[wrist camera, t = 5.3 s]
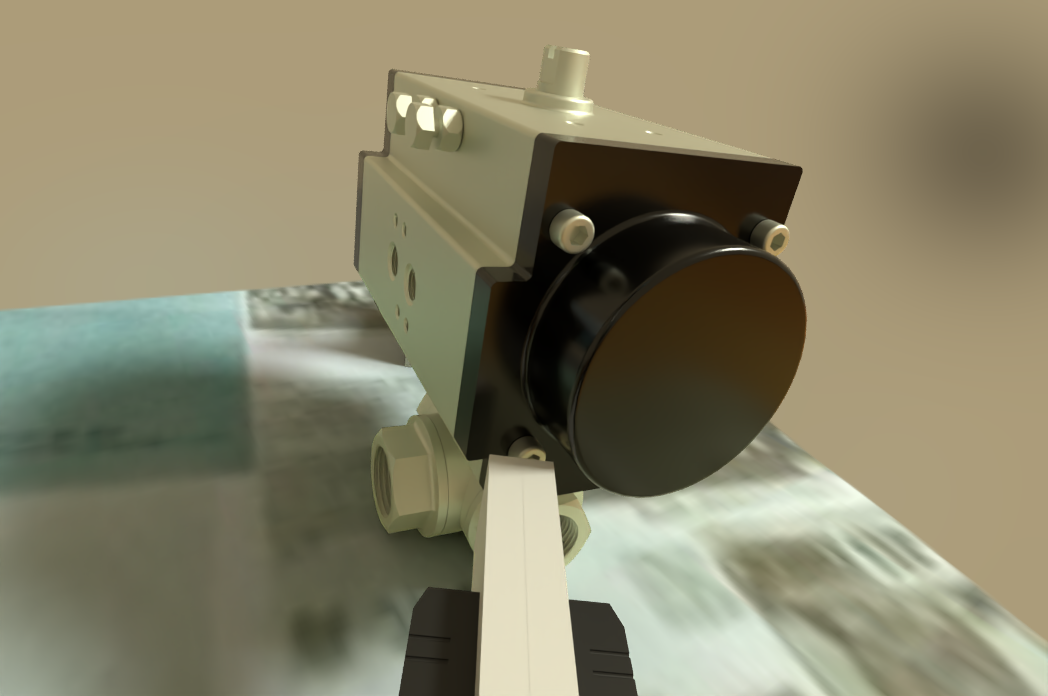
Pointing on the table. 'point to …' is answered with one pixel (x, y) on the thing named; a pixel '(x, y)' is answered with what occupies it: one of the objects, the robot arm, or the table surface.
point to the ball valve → (569, 294)
